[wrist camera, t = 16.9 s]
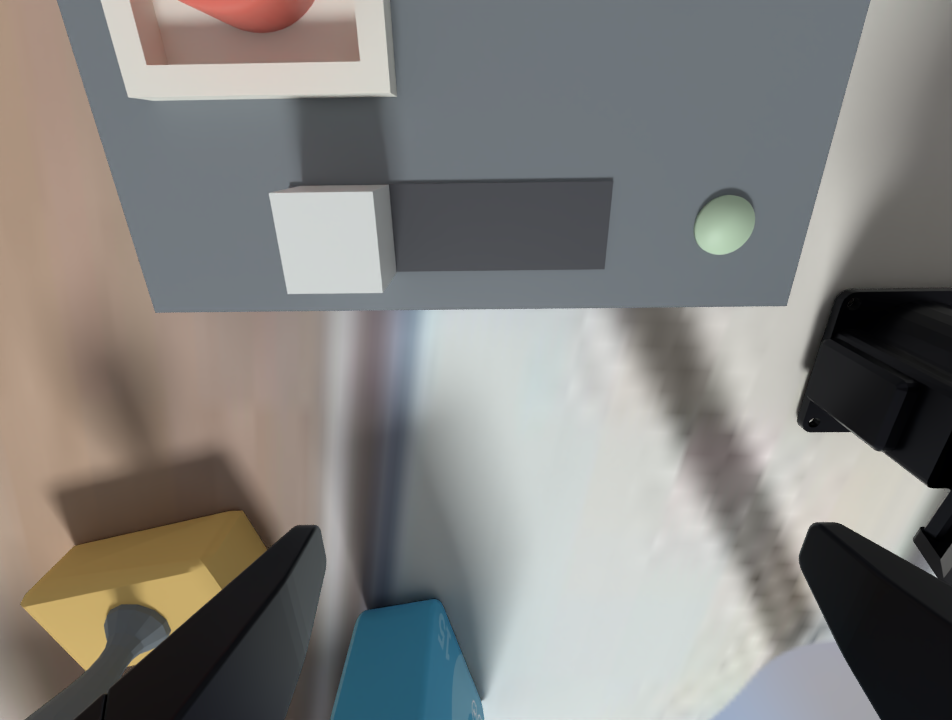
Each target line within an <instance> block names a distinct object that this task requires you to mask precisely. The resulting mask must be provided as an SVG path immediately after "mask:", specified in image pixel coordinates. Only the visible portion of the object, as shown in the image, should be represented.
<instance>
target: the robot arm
mask: <svg viewBox="0 0 952 720" xmlns="http://www.w3.org/2000/svg"><path fill="white" fill-rule="evenodd" d="M853 298H854V301H853V303H852V304H851V305H850V306H848V303H849V301H850V300H852V299H853ZM813 418H814V419H813ZM811 419H813V421H811V422H809V421H810V420H811ZM797 422H798V425H800V426H801V427H802V428H803V429H804V430H806V431H807V432H852V433H853V434H855V435H856V436H857V437H859V438H860V439H861V440H862V441H864V442H865V443H866V444H868V445H869V446H870V447H872V448H873V449H874V450H876V451H882V452H883V453H885V454H886V455H887V456H889V457H890V458H891V459H892V460H894V461H895V462H896V463H898V464H899V465H900V466H902V467H903V468H904V469H906V470H907V471H908V472H909V473H911V474H912V475H913V476H915V477H916V478H917V479H919V480H920V481H921V482H923V483H924V484H925V485H927V486H928V487H929V488H942V489H944V490H945V491H946V492H948V494H947V495H946V497H945V498H944V500H943V501H942V502H941V504H940V505H939V507H938V508H937V510H936V511H935V513H934V514H933V516H932V517H931V519H930V520H929V522H928V523H927V525H926V526H925V527H920V529H919V530H918V532H917V533H916V535H915V536H914V538H913V541H914V543H915V544H916V546H917V547H918V549H919V551H920V552H921V554H922V555H923V557H924V558H925V560H926V561H927V563H928V564H929V566H930V567H931V569H932V570H933V572H934V573H935V575H936V576H937V578H936V577H935V576H933V575H931V574H929V573H927V572H926V571H924V570H922V569H920V568H919V567H917V566H915V565H913V564H911V563H910V562H908V561H906V560H904V559H902V558H901V557H899V556H897V555H895V554H894V553H892V552H890V551H888V550H886V549H885V548H883V547H881V546H879V545H878V544H876V543H874V542H872V541H870V540H869V539H867V538H865V537H863V536H861V535H860V534H858V533H856V532H854V531H853V530H851V529H849V528H847V527H845V526H844V525H842V524H839V523H835V522H816V523H813V524H812V525H811V526H810V527H809V529H808V532H807V535H806V537H805V540H804V543H803V545H802V548H801V551H800V554H799V564H800V568H801V570H802V572H803V574H804V576H805V579H806V581H807V583H808V585H809V587H810V589H811V591H812V593H813V595H814V597H815V599H816V601H817V603H818V606H819V608H820V610H821V612H822V614H823V616H824V618H825V620H826V622H827V624H828V626H829V628H830V630H831V633H832V635H833V637H834V639H835V641H836V643H837V645H838V647H839V649H840V651H841V652H842V654H843V656H844V658H845V660H846V662H847V663H848V665H849V667H850V668H851V670H852V672H853V674H854V676H855V677H856V679H857V680H858V682H859V684H860V686H861V687H862V689H863V691H864V692H865V694H866V696H867V697H868V699H869V701H870V702H871V704H872V706H873V708H874V709H875V711H876V712H877V714H878V716H879V718H880V719H881V720H952V288H888V289H848V290H845V291H843V292H841V293H840V294H839V295H838V296H837V298H836V299H835V301H834V305H833V308H832V311H831V314H830V317H829V320H828V323H827V327H826V330H825V333H824V336H823V339H822V342H821V345H820V348H819V351H818V354H817V358H816V361H815V364H814V367H813V370H812V373H811V377H810V380H809V383H808V386H807V389H806V392H805V396H804V399H803V402H802V405H801V408H800V412H799V415H798V418H797ZM325 570H326V554H325V549H324V545H323V540H322V535H321V530H320V528H319V527H318V526H317V525H297V526H295V527H293V528H292V529H291V530H290V531H288V532H287V533H286V534H285V535H284V536H283V537H282V538H280V539H279V540H278V541H277V542H276V543H275V544H274V545H272V546H271V547H270V548H269V549H268V550H267V551H266V552H264V553H263V554H262V555H261V556H260V557H259V558H258V559H256V560H255V561H254V562H253V563H252V564H251V565H250V566H248V567H247V568H246V569H245V570H244V571H243V572H241V573H240V574H239V575H238V576H237V577H236V578H235V579H233V580H232V581H231V582H230V583H229V584H228V585H227V586H225V587H224V588H223V589H222V590H221V591H220V592H219V593H217V594H216V595H215V596H214V597H213V598H212V599H211V600H209V601H208V602H207V603H206V604H205V605H204V606H203V607H201V608H200V609H199V610H198V611H197V612H196V613H195V614H193V615H192V616H191V617H190V618H189V619H188V620H187V621H185V622H184V623H183V624H182V625H181V626H180V627H179V628H177V629H176V630H175V631H174V632H173V633H172V634H171V635H169V636H168V637H167V638H166V639H165V640H164V641H162V642H161V643H160V644H159V645H158V646H157V647H156V648H154V649H153V650H152V651H151V652H150V653H149V654H148V655H146V656H145V657H144V658H143V659H142V660H141V661H140V662H138V663H137V664H136V665H135V666H134V667H133V668H132V669H130V670H129V671H128V672H127V673H126V674H125V675H124V676H122V677H121V678H120V679H119V680H118V681H117V682H116V683H114V684H113V685H112V686H111V687H110V688H109V689H108V692H107V694H106V693H104V694H102V695H100V696H99V697H98V698H97V699H96V700H95V701H94V702H92V703H91V704H90V705H89V706H88V707H87V708H86V709H84V710H83V711H82V712H81V713H80V714H79V715H77V716H76V717H75V718H74V719H73V720H285V717H286V714H287V711H288V708H289V705H290V702H291V699H292V696H293V693H294V690H295V687H296V684H297V681H298V678H299V675H300V672H301V669H302V666H303V663H304V660H305V656H306V652H307V648H308V644H309V640H310V636H311V632H312V627H313V623H314V618H315V614H316V610H317V605H318V601H319V596H320V592H321V588H322V583H323V579H324V575H325Z"/></svg>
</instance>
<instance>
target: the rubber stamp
mask: <svg viewBox="0 0 952 720" xmlns="http://www.w3.org/2000/svg"><path fill="white" fill-rule="evenodd" d="M266 551H267V549H266V547H265V545H264V544H263V542H262V541H261V539H260V537H259V536H258V534H257V533H256V531H255V529H254V528H253V526H252V525H251V523H250V521H249V520H248V518H247V517H246V515H245V514H244V512H243V511H227V512H223V513H219V514H214V515H210V516H205V517H201V518H196V519H192V520H187V521H183V522H178V523H174V524H170V525H165V526H161V527H156V528H152V529H147V530H143V531H138V532H134V533H129V534H125V535H121V536H116V537H112V538H107V539H103V540H98V541H94V542H89V543H85V544H80V545H76V546H74V547H73V548H72V549H71V550H70V551H69V552H68V553H67V554H66V555H65V556H64V557H63V558H62V559H61V560H60V561H59V562H58V563H57V564H55V565H54V566H53V567H52V568H51V569H50V570H49V571H48V572H47V573H46V574H45V575H44V576H43V577H42V578H41V579H40V580H39V581H38V582H37V583H36V584H35V585H34V586H33V587H32V588H31V589H30V590H29V591H28V592H27V593H26V594H25V596H24V598H23V600H22V602H21V604H20V605H21V606H22V607H23V608H24V609H25V610H26V611H27V612H28V613H29V614H30V615H31V616H32V617H33V618H34V619H35V620H36V621H37V622H38V623H39V624H40V625H41V626H42V627H43V628H44V629H45V630H46V631H47V632H48V633H49V634H50V635H51V636H52V637H53V638H54V639H55V640H56V641H57V642H58V643H59V644H60V645H61V646H62V647H63V648H64V649H65V650H66V652H67V653H68V654H69V655H70V656H71V657H72V658H73V659H74V660H75V661H76V662H77V663H78V664H79V665H80V666H81V667H82V668H83V669H84V670H85V672H84V673H83V674H82V675H81V676H80V677H79V678H78V679H77V680H75V681H74V682H73V683H72V684H70V685H69V686H68V687H67V688H66V689H64V690H63V691H62V692H60V693H59V694H58V695H56V696H55V697H54V698H53V699H51V700H50V701H49V702H47V703H46V704H45V705H43V706H42V707H41V708H39V709H38V710H37V711H35V712H34V713H33V714H32V715H30V716H29V717H28V718H26V719H25V720H73V719H74V718H75V717H76V716H77V715H79V714H80V713H81V712H82V711H83V710H84V709H86V708H87V707H88V706H89V705H90V704H91V703H92V702H94V701H95V700H96V699H97V698H98V697H99V696H100V695H102V694H104V693H106V694H107V692H108V689H109V688H110V687H111V686H112V685H113V684H114V683H116V682H117V681H118V680H119V679H120V678H121V676H122V674H123V672H124V670H125V669H126V668H127V667H128V666H133V665H136V664H137V663H138V662H140V661H141V660H142V659H143V658H144V657H145V656H146V655H148V654H149V653H150V652H151V651H152V650H153V649H154V648H156V647H157V646H158V645H159V644H160V643H161V642H162V641H164V640H165V639H166V638H167V637H168V636H169V635H171V634H172V633H173V632H174V631H175V630H176V629H177V628H179V627H180V626H181V625H182V624H183V623H184V622H185V621H187V620H188V619H189V618H190V617H191V616H192V615H193V614H195V613H196V612H197V611H198V610H199V609H200V608H201V607H203V606H204V605H205V604H206V603H207V602H208V601H209V600H211V599H212V598H213V597H214V596H215V595H216V594H217V593H219V592H220V591H221V590H222V589H223V588H224V587H225V586H227V585H228V584H229V583H230V582H231V581H232V580H233V579H235V578H236V577H237V576H238V575H239V574H240V573H241V572H243V571H244V570H245V569H246V568H247V567H248V566H250V565H251V564H252V563H253V562H254V561H255V560H256V559H258V558H259V557H260V556H261V555H262V554H263V553H264V552H266Z"/></svg>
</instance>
